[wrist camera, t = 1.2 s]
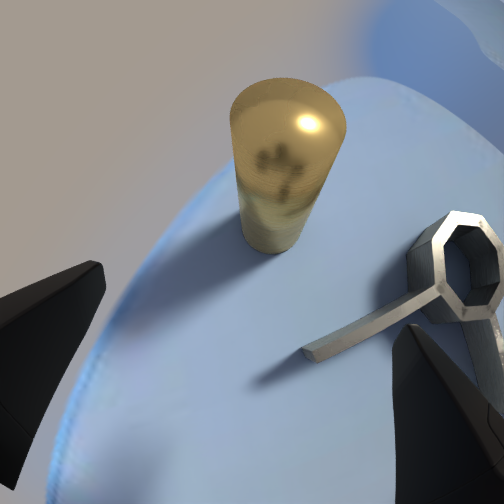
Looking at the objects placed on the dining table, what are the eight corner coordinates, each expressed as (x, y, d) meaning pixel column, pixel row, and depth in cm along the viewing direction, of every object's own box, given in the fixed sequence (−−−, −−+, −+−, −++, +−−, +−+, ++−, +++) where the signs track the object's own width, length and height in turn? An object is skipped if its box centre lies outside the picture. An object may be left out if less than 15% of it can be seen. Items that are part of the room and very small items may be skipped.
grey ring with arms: (429, 478, 17) (451, 494, 13) (298, 349, 20) (308, 354, 16) (527, 336, 20) (553, 333, 16) (431, 202, 23) (454, 183, 19)
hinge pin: (270, 266, 22) (290, 189, 10) (229, 223, 23) (205, 114, 11) (313, 227, 23) (368, 125, 10) (272, 187, 23) (287, 64, 11)
